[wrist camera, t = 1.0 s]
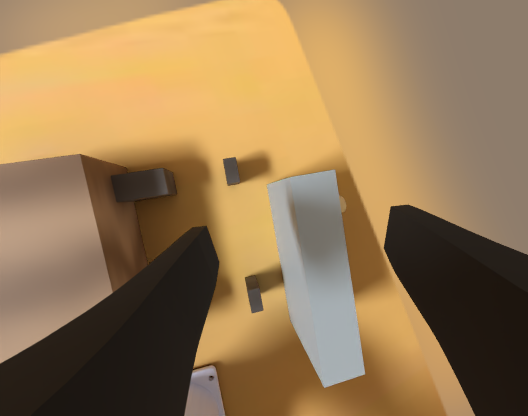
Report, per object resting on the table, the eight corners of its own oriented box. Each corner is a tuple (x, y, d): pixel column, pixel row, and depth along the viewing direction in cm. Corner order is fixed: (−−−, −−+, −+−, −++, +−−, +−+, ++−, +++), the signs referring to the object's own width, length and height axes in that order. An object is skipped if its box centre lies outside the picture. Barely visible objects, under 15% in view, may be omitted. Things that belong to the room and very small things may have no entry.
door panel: (328, 309, 23) (380, 369, 15) (289, 320, 22) (324, 387, 14) (307, 177, 22) (352, 166, 14) (266, 184, 21) (289, 177, 13)
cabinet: (260, 304, 21) (272, 345, 16) (65, 354, 19) (-9, 426, 13) (232, 152, 20) (234, 133, 14) (20, 182, 18) (-84, 175, 12)
